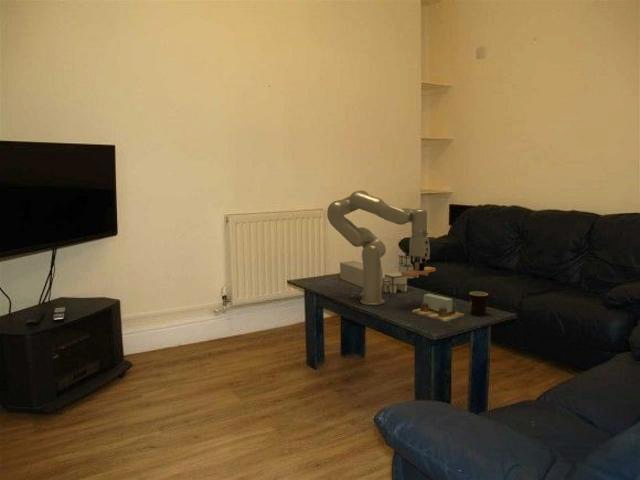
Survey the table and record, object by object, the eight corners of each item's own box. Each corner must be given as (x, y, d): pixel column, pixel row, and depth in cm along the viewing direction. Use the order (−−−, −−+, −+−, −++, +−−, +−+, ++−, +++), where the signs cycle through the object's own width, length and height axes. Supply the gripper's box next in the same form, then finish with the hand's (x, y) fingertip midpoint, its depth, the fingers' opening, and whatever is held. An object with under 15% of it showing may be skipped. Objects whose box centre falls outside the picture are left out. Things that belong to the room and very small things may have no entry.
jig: (412, 312, 251) (412, 303, 250) (431, 307, 259) (431, 298, 259) (445, 321, 235) (445, 312, 235) (464, 315, 244) (464, 306, 243)
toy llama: (381, 292, 291) (381, 257, 288) (405, 288, 299) (405, 254, 296) (389, 295, 284) (389, 259, 281) (413, 290, 293) (414, 256, 290)
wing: (401, 277, 254) (401, 264, 253) (428, 272, 266) (428, 259, 265) (409, 279, 250) (409, 265, 249) (435, 273, 263) (435, 260, 262)
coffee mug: (485, 317, 241) (486, 296, 239) (467, 315, 245) (467, 294, 243) (490, 311, 251) (491, 291, 249) (472, 308, 255) (473, 289, 253)
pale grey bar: (423, 306, 251) (423, 294, 250) (428, 305, 254) (428, 293, 253) (447, 312, 240) (447, 300, 240) (452, 311, 243) (452, 298, 242)
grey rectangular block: (340, 278, 328) (339, 262, 326) (354, 276, 332) (354, 260, 331) (367, 289, 299) (367, 271, 298) (382, 286, 304) (382, 269, 303)
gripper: (437, 234, 251) (436, 271, 254) (411, 231, 264) (411, 266, 267) (427, 236, 247) (426, 273, 249) (401, 233, 259) (401, 268, 262)
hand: (418, 269), depth 258 cm, fingers closed on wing, 3 cm apart
